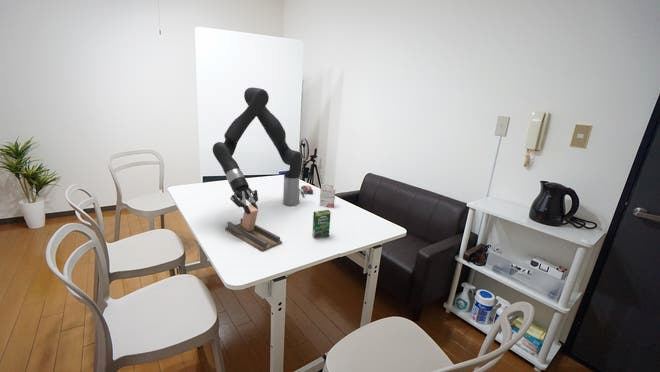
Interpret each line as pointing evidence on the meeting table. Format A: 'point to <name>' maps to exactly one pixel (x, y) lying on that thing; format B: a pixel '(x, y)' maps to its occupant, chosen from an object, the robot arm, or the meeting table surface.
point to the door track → (254, 236)
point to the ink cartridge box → (327, 195)
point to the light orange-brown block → (249, 219)
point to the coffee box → (321, 223)
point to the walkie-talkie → (306, 190)
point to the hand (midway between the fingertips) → (252, 212)
